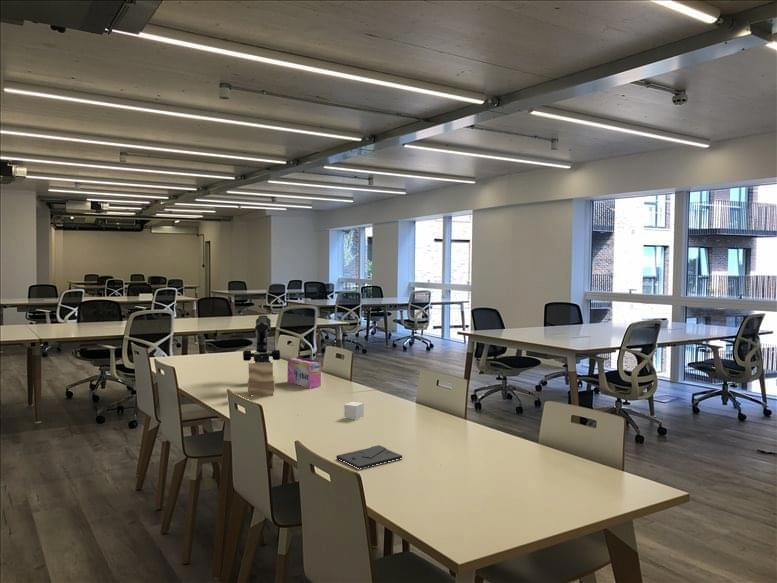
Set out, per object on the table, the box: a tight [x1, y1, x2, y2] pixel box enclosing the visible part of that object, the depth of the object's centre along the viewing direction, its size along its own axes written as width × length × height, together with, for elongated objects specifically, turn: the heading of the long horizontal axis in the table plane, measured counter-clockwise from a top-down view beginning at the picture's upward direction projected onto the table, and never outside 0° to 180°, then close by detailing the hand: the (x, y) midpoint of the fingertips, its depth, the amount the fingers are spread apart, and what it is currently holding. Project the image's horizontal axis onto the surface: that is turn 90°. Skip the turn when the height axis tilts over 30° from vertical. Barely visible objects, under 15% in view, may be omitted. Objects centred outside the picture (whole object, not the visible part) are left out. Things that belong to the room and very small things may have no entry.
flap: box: [247, 362, 274, 382], centre depth 292 cm, size 12×12×1 cm
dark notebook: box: [335, 444, 403, 469], centre depth 200 cm, size 13×2×18 cm
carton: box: [247, 375, 276, 397], centre depth 302 cm, size 12×13×8 cm
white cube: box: [343, 401, 365, 420], centre depth 254 cm, size 6×6×6 cm
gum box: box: [287, 356, 322, 389], centre depth 325 cm, size 24×8×14 cm, turn 40°
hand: (261, 368), depth 302 cm, fingers closed
